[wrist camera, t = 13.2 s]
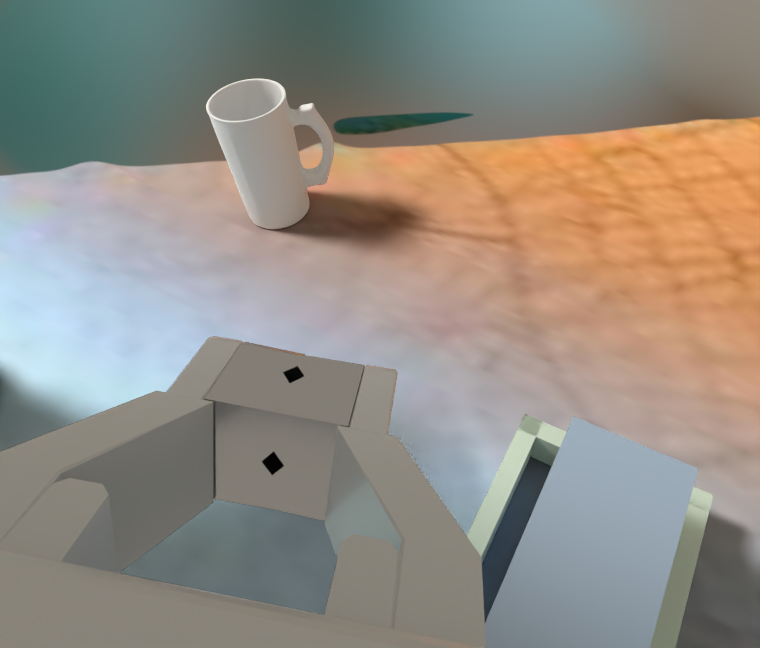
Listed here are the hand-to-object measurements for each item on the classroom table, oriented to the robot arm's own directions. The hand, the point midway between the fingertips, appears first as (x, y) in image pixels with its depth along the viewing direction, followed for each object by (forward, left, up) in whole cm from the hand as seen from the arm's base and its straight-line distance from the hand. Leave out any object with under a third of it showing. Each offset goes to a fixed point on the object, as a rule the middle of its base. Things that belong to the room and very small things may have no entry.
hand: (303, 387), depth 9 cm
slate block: (+9, 0, -29) cm, 30 cm away
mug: (-5, +40, -29) cm, 50 cm away
